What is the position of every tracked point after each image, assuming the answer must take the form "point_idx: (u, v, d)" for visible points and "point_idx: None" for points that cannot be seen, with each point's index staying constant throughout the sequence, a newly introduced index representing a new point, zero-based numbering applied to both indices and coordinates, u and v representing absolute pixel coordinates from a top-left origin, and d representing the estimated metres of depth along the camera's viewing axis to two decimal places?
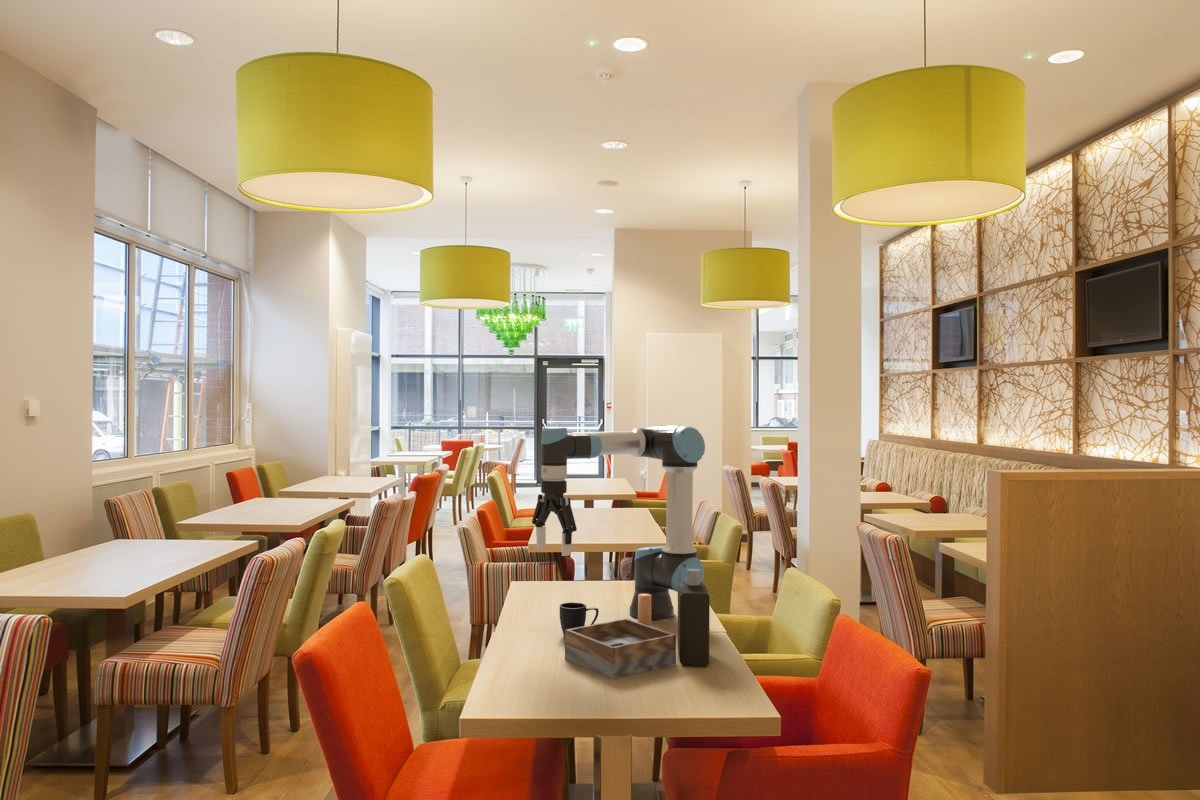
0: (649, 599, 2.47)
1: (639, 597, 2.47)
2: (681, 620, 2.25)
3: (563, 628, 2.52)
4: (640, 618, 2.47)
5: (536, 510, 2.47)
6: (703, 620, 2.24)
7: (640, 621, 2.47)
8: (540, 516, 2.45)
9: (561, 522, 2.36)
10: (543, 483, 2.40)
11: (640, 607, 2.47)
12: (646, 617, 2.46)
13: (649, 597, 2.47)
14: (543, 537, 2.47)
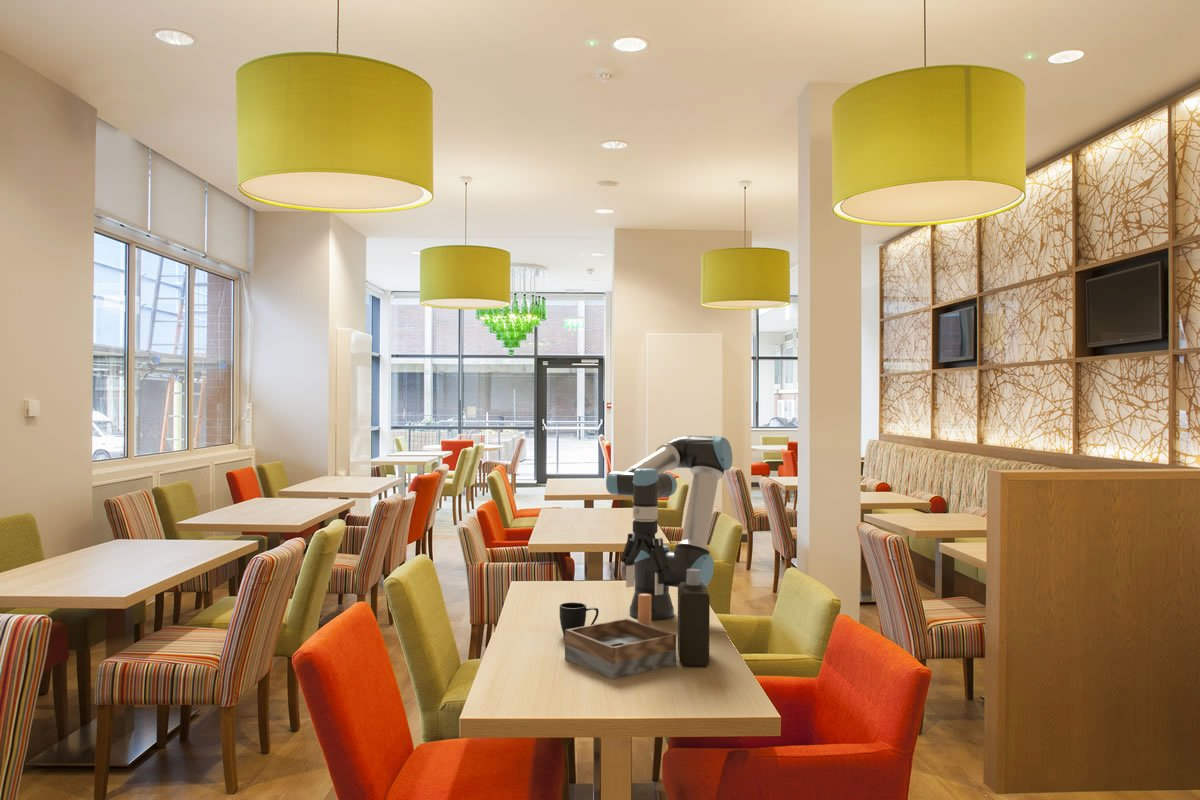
0: (649, 599, 2.47)
1: (639, 597, 2.47)
2: (681, 620, 2.25)
3: (563, 628, 2.52)
4: (640, 618, 2.47)
5: (626, 549, 2.54)
6: (703, 620, 2.24)
7: (640, 621, 2.47)
8: (630, 555, 2.52)
9: (654, 562, 2.43)
10: (635, 523, 2.46)
11: (640, 607, 2.47)
12: (646, 617, 2.46)
13: (649, 597, 2.47)
14: (633, 575, 2.54)
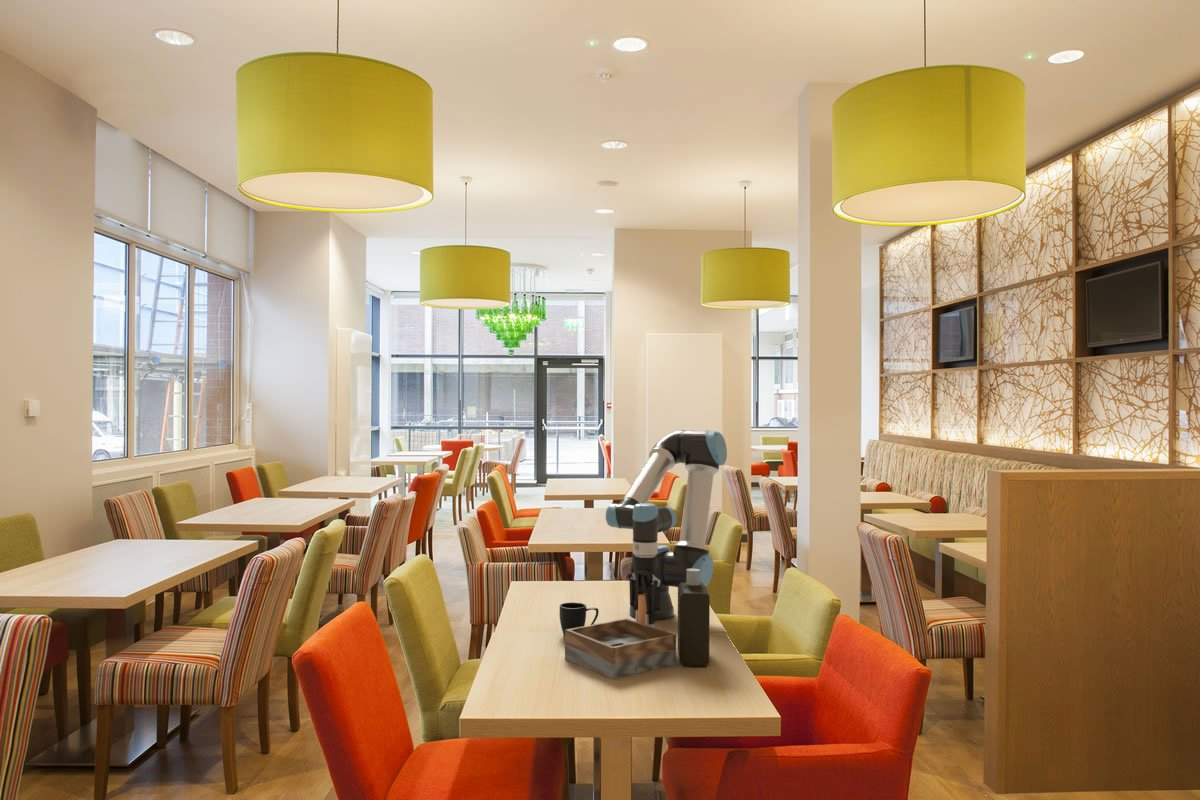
0: None
1: (639, 597, 2.47)
2: (681, 620, 2.25)
3: (563, 628, 2.52)
4: (640, 618, 2.47)
5: (631, 590, 2.52)
6: (703, 620, 2.24)
7: (640, 621, 2.47)
8: (636, 596, 2.50)
9: (647, 601, 2.46)
10: (635, 559, 2.46)
11: (640, 607, 2.47)
12: None
13: None
14: None
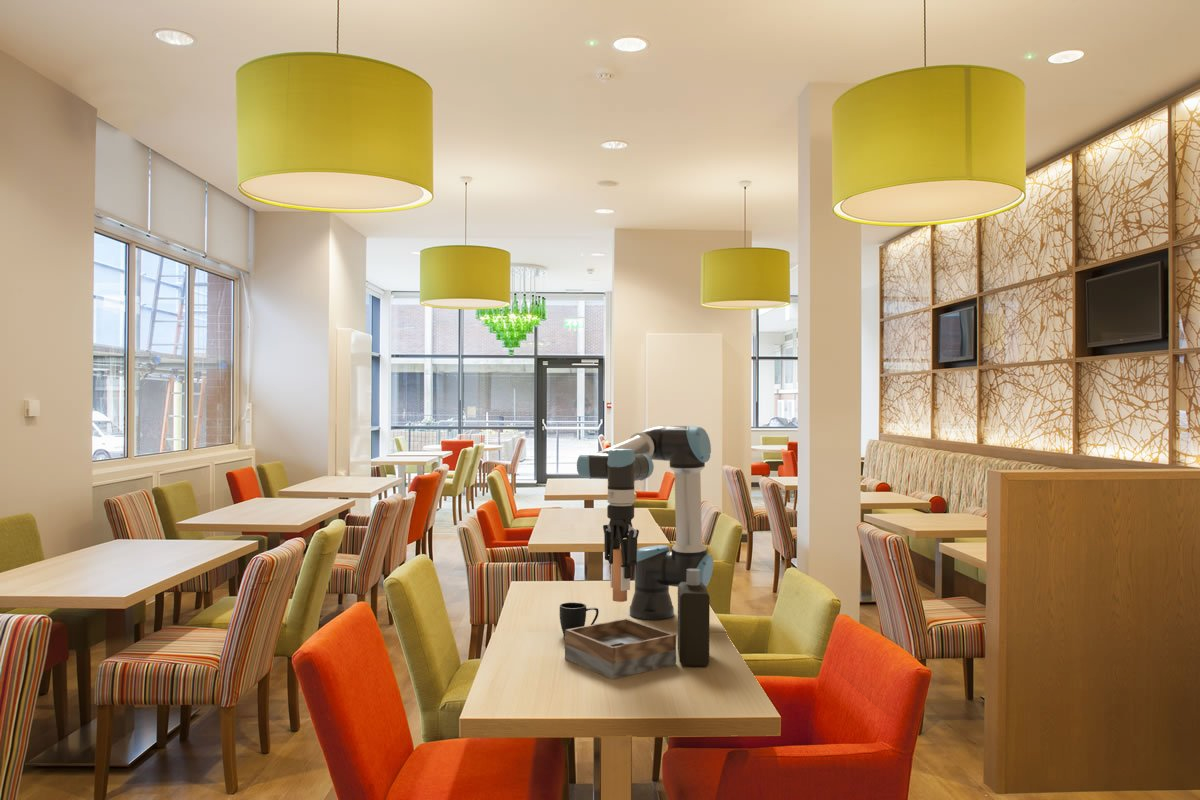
0: None
1: (614, 552, 2.28)
2: (681, 620, 2.25)
3: (563, 628, 2.52)
4: (615, 574, 2.27)
5: (606, 543, 2.32)
6: (703, 620, 2.24)
7: (615, 577, 2.27)
8: (611, 548, 2.30)
9: (623, 554, 2.26)
10: (610, 508, 2.27)
11: (615, 562, 2.28)
12: None
13: None
14: None
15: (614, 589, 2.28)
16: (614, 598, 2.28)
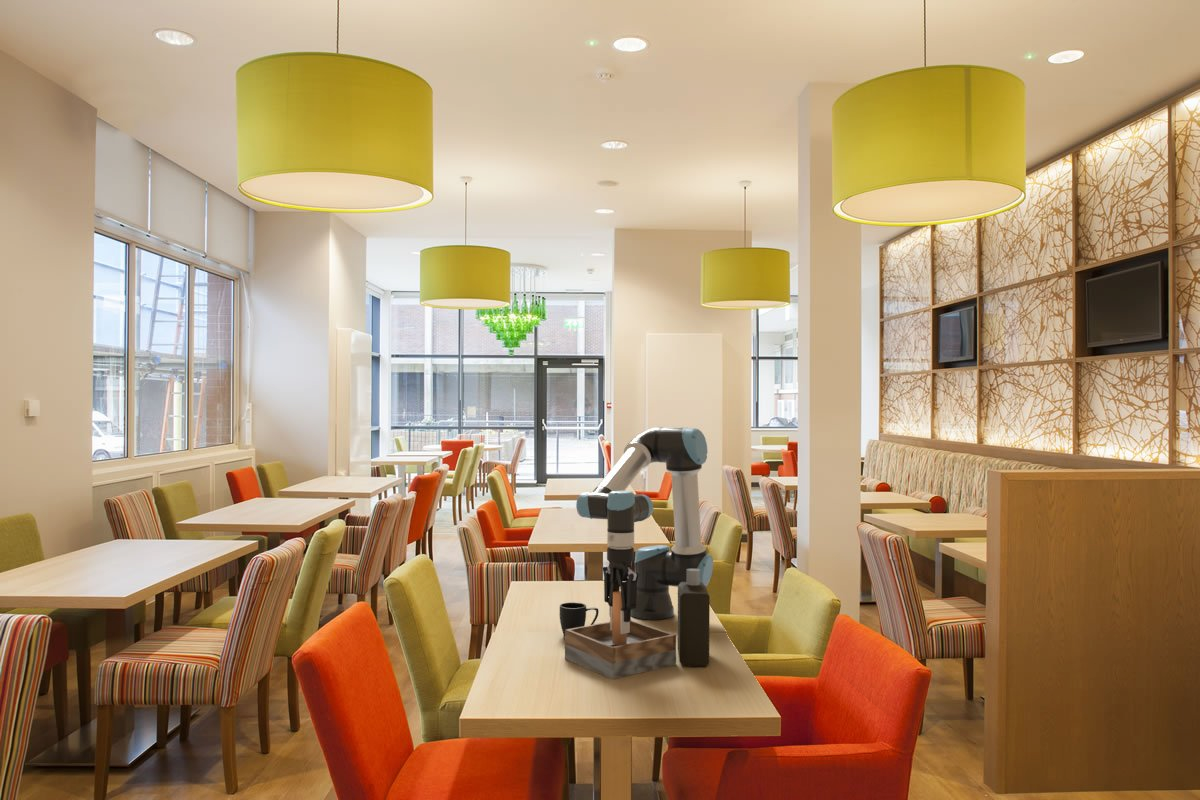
0: None
1: (614, 594, 2.28)
2: (681, 620, 2.25)
3: (563, 628, 2.52)
4: (615, 617, 2.27)
5: (605, 585, 2.32)
6: (703, 620, 2.24)
7: (615, 621, 2.27)
8: (611, 591, 2.30)
9: (622, 597, 2.26)
10: (610, 551, 2.27)
11: (615, 605, 2.27)
12: None
13: None
14: None
15: (614, 632, 2.27)
16: (614, 641, 2.27)
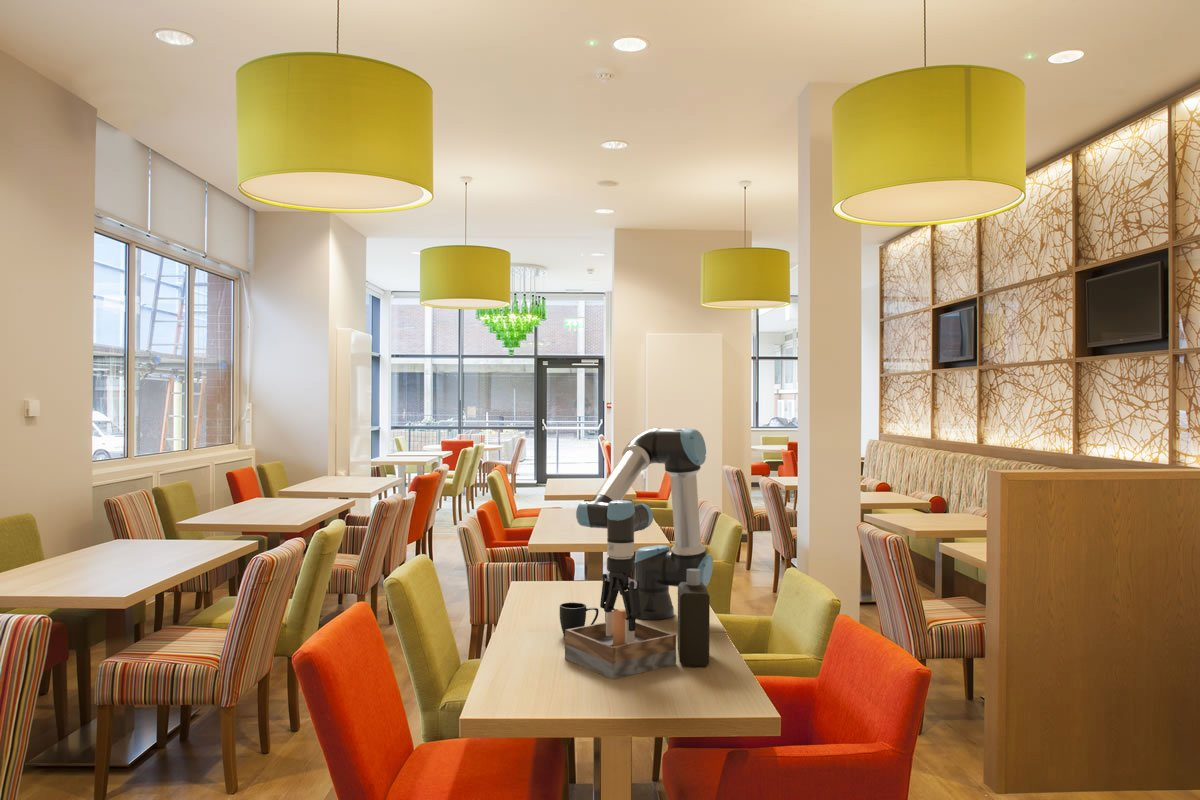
0: (625, 615, 2.27)
1: (615, 613, 2.27)
2: (681, 620, 2.25)
3: (563, 628, 2.52)
4: (615, 636, 2.27)
5: (603, 592, 2.33)
6: (703, 620, 2.24)
7: (615, 639, 2.27)
8: (608, 598, 2.31)
9: (626, 606, 2.25)
10: (610, 561, 2.27)
11: (615, 624, 2.27)
12: (621, 634, 2.27)
13: (625, 613, 2.27)
14: None
15: None
16: None
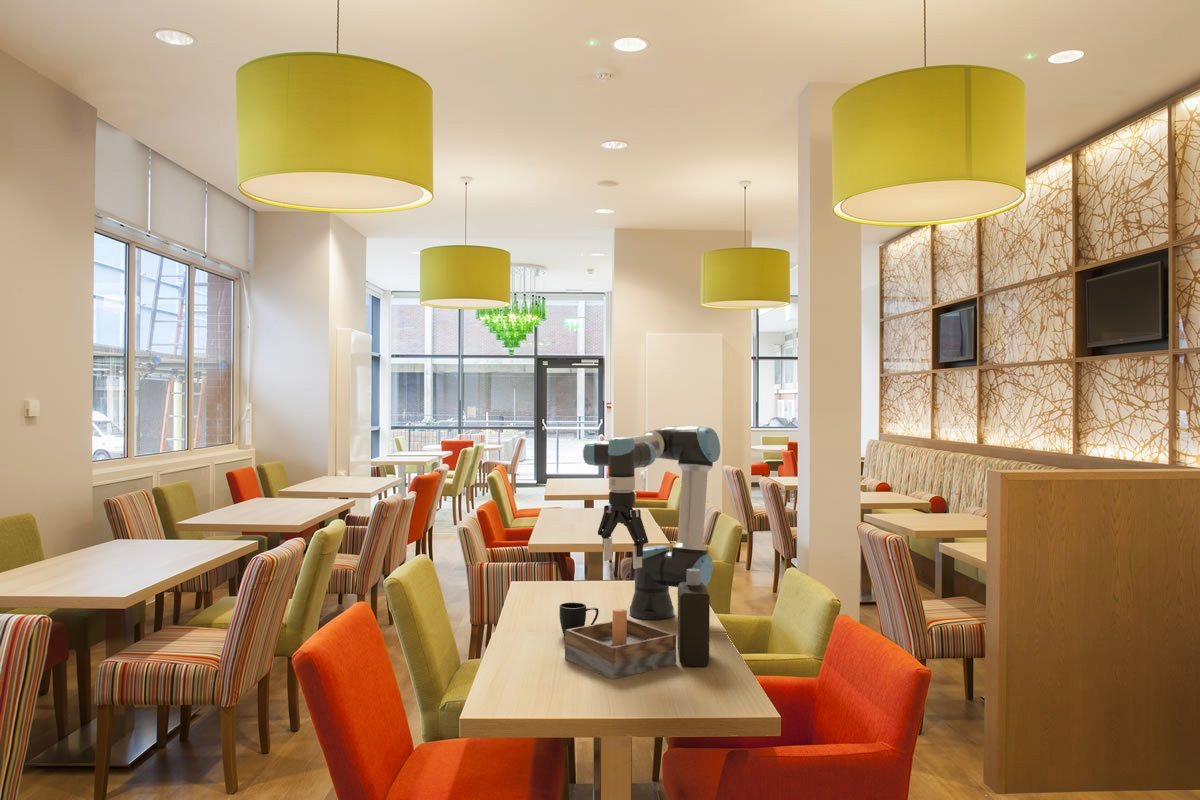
0: (624, 615, 2.27)
1: (613, 613, 2.28)
2: (681, 620, 2.25)
3: (563, 628, 2.52)
4: (614, 636, 2.27)
5: (602, 521, 2.44)
6: (703, 620, 2.24)
7: (614, 639, 2.27)
8: (607, 527, 2.42)
9: (632, 534, 2.33)
10: (612, 495, 2.36)
11: (614, 624, 2.27)
12: (620, 634, 2.27)
13: (624, 613, 2.27)
14: (610, 548, 2.44)
15: None
16: None
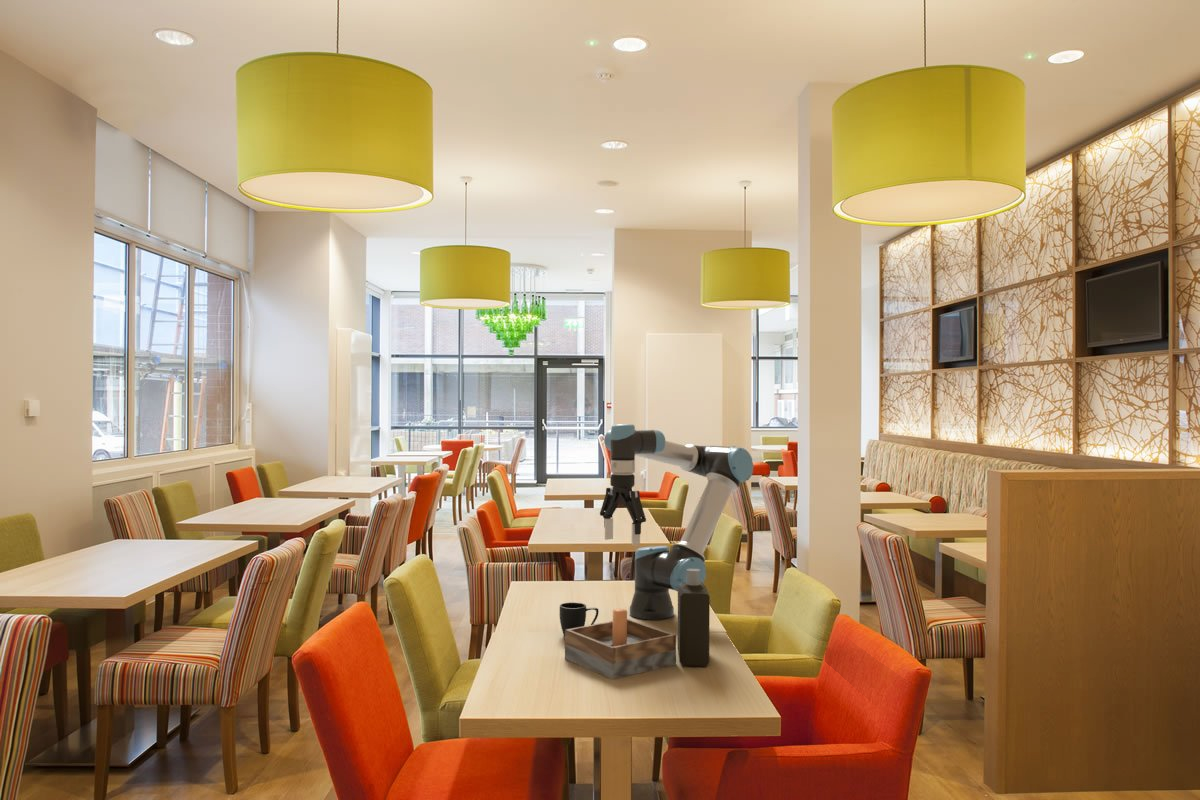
0: (624, 615, 2.28)
1: (614, 613, 2.28)
2: (681, 620, 2.25)
3: (563, 628, 2.52)
4: (614, 635, 2.27)
5: (604, 502, 2.62)
6: (703, 620, 2.24)
7: (614, 639, 2.27)
8: (608, 508, 2.60)
9: (631, 513, 2.51)
10: (613, 477, 2.54)
11: (615, 623, 2.28)
12: (620, 634, 2.27)
13: (624, 613, 2.28)
14: (611, 528, 2.62)
15: None
16: None
